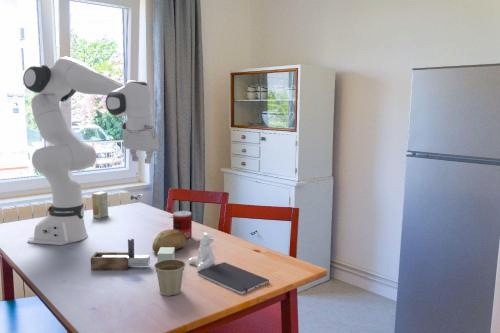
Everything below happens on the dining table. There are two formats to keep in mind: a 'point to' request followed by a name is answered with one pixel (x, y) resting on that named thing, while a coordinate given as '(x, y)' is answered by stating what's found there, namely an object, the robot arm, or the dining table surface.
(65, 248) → the dining table surface
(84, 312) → the dining table surface
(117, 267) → the open wooden box
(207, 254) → the sitting furry creature
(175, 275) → the flower pot
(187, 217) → the canned food
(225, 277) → the notebook
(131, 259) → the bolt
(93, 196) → the skincare box
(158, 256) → the pale green block
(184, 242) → the bread roll
